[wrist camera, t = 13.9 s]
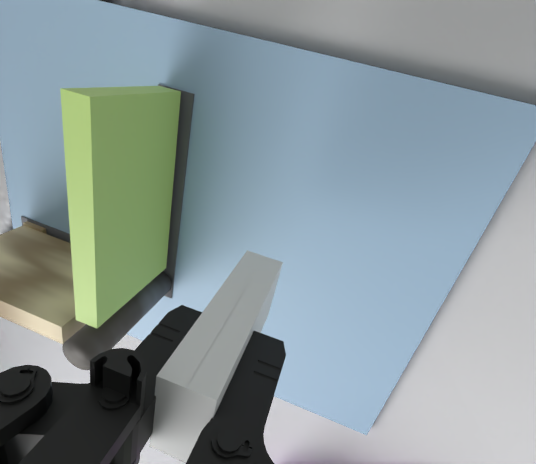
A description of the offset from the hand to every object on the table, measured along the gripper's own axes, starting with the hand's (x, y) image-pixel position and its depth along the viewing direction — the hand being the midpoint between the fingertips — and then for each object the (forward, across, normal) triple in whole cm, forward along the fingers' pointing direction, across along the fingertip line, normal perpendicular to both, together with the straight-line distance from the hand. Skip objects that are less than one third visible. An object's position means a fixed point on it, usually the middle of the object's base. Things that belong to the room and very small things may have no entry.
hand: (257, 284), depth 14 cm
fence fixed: (+6, -12, -6) cm, 15 cm away
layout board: (+6, -5, -2) cm, 8 cm away
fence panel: (+5, -7, +1) cm, 9 cm away
